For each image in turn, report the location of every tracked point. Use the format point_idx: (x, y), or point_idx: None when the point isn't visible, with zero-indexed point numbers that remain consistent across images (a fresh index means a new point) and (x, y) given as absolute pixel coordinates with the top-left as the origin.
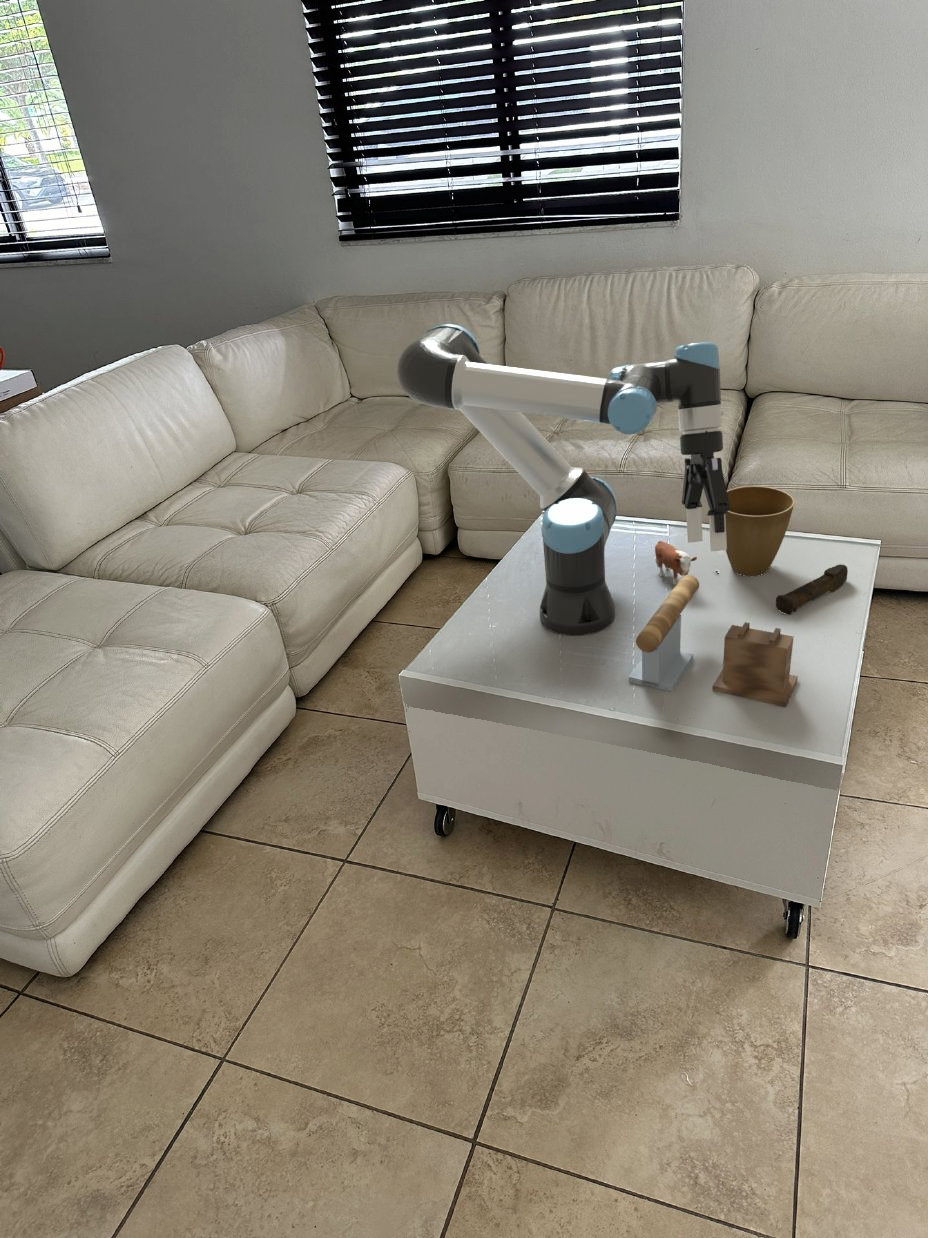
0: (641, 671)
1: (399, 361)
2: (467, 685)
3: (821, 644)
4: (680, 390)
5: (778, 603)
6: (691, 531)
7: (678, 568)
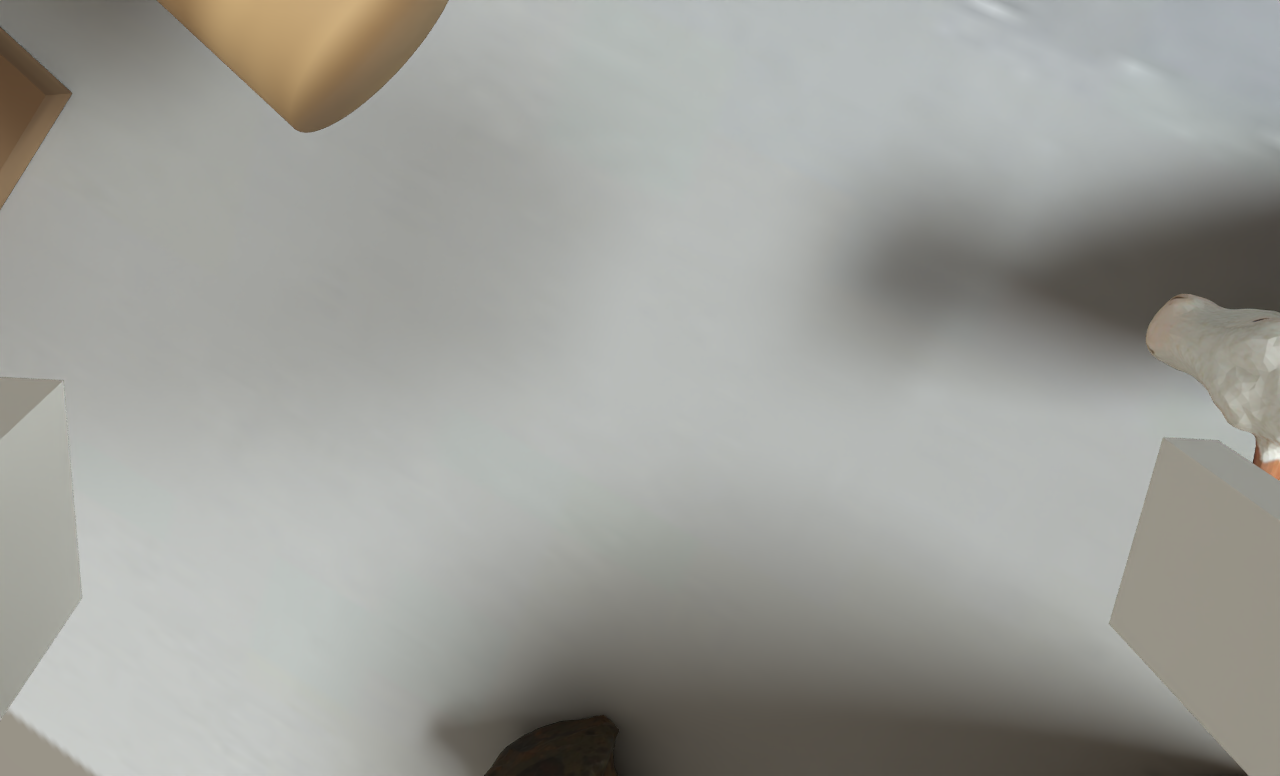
0: None
1: None
2: None
3: (187, 696)
4: None
5: (579, 745)
6: (1257, 566)
7: None
